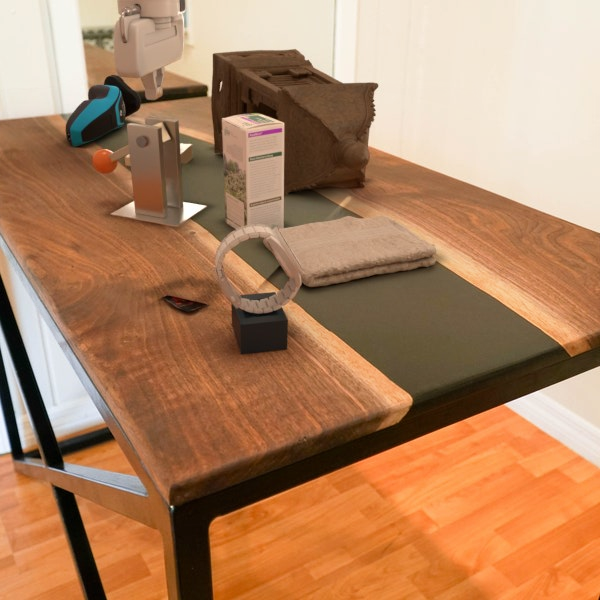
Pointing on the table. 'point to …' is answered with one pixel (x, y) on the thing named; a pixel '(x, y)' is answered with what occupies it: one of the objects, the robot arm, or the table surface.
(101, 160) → the switch lever
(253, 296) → the watch
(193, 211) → the switch bracket
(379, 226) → the washcloth
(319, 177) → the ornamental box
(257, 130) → the syrup box
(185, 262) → the table surface
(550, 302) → the table surface
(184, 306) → the dark red faceted gem
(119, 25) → the robot arm
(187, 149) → the control box
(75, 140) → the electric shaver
